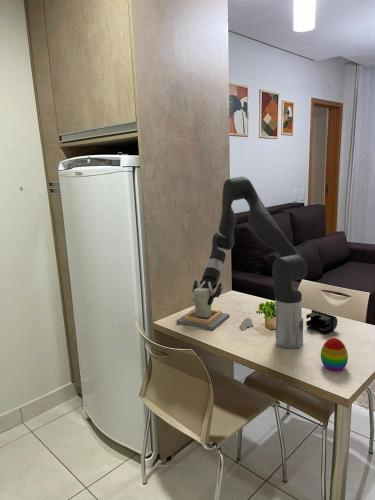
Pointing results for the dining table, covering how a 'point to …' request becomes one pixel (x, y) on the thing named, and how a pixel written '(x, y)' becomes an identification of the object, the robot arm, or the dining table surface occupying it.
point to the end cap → (321, 322)
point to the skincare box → (202, 302)
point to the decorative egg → (334, 355)
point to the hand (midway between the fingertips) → (202, 303)
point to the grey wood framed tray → (203, 320)
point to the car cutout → (246, 323)
